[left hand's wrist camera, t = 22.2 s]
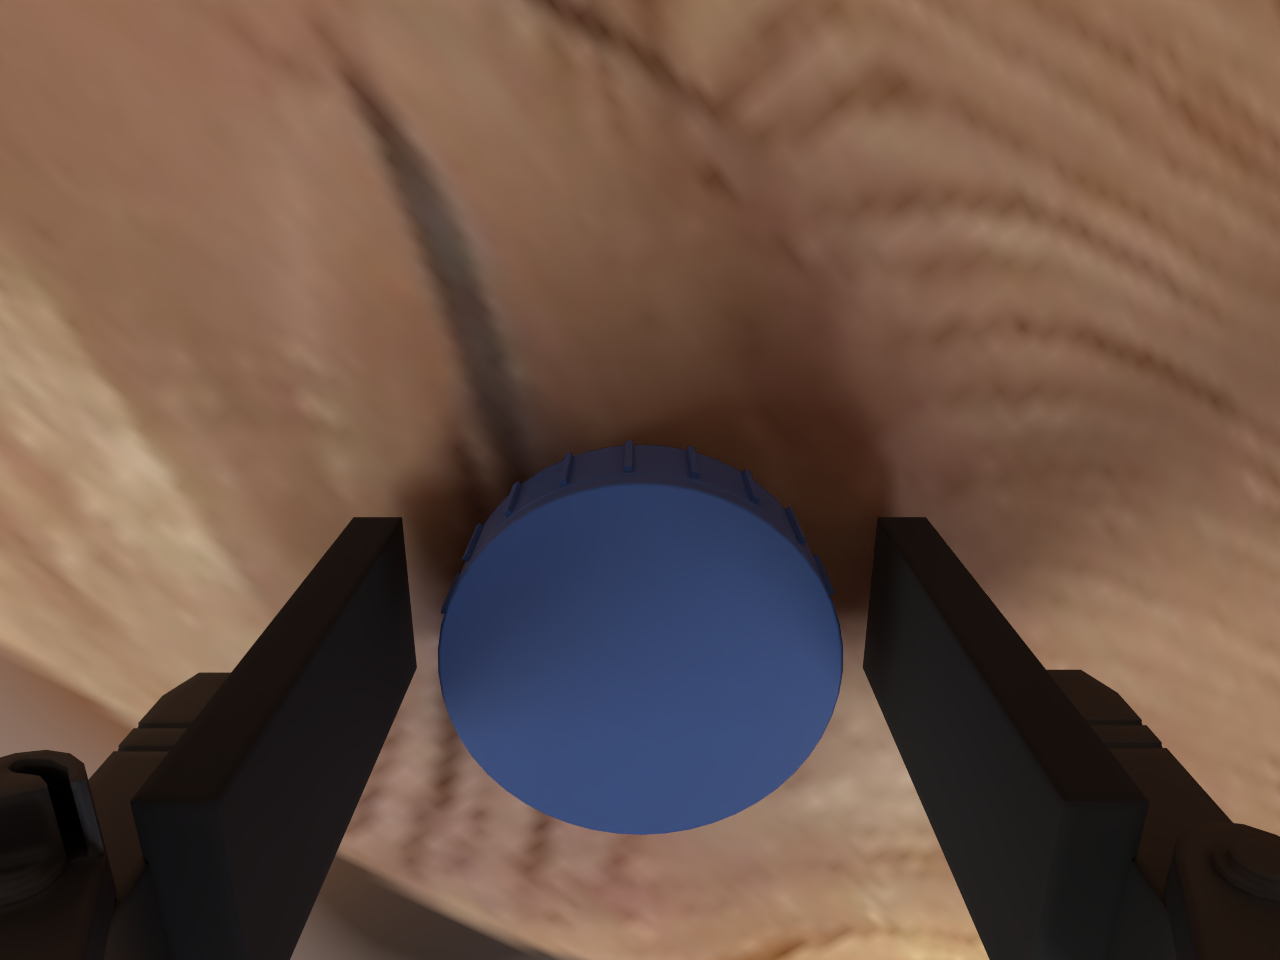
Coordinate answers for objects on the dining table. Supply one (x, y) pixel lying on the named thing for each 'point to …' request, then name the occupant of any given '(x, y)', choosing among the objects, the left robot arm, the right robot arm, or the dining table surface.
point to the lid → (640, 641)
